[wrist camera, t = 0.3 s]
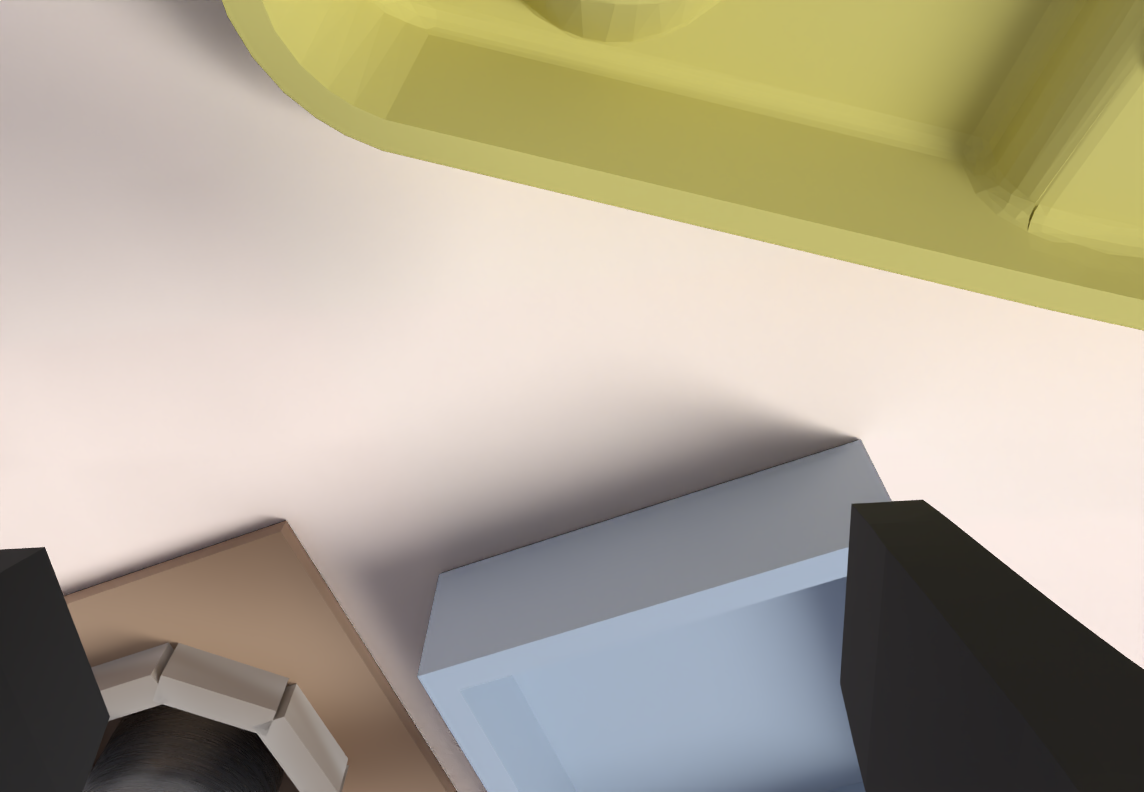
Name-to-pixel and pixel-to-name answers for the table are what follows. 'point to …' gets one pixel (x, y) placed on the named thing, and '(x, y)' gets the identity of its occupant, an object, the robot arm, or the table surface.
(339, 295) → the table surface
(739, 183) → the plastic component
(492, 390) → the table surface
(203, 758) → the cylinder with rectangular bar
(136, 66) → the table surface
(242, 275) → the table surface
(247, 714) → the socket plate
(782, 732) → the bin
